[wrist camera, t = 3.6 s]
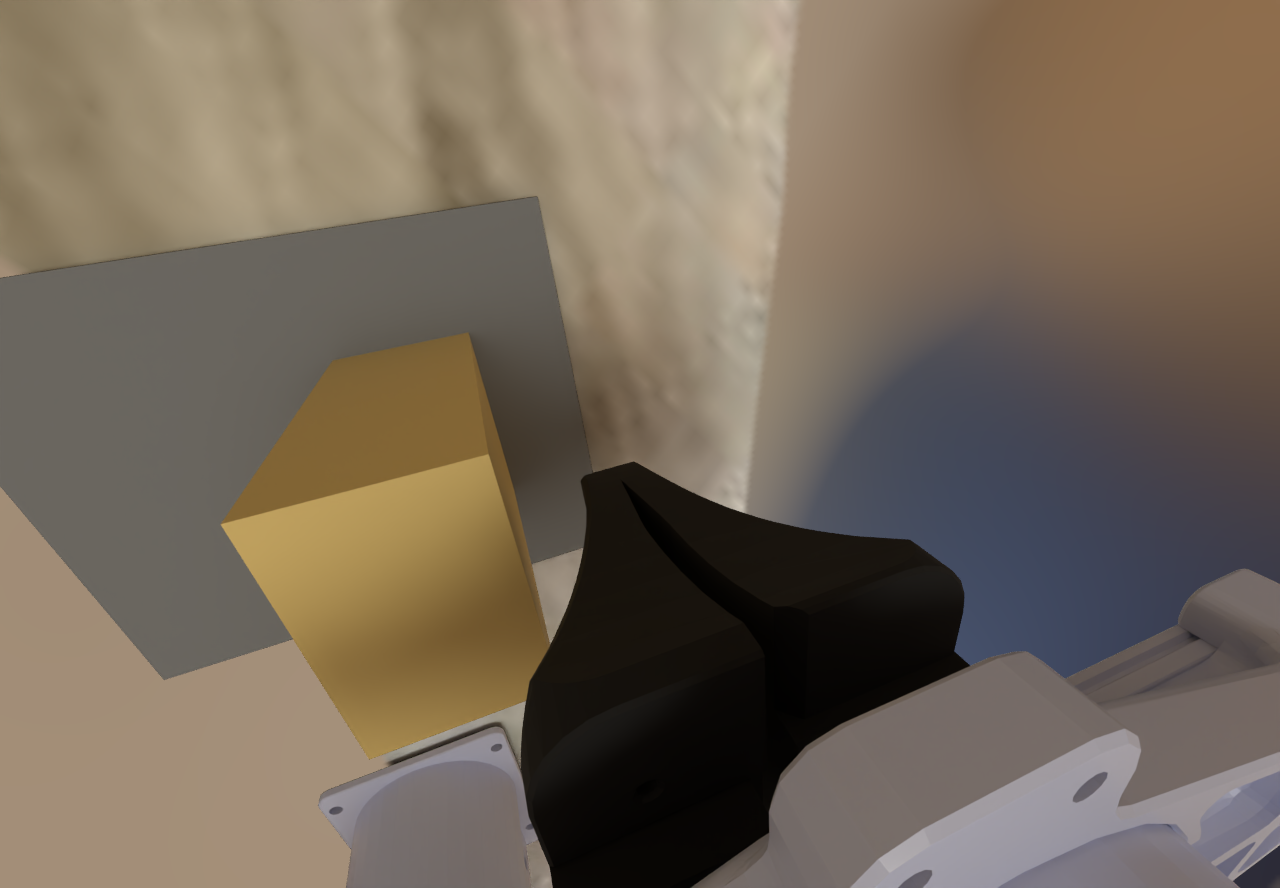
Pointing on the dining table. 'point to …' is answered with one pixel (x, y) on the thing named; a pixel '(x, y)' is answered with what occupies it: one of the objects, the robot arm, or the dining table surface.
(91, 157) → the dining table surface
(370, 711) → the ochre block
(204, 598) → the rubber mat
